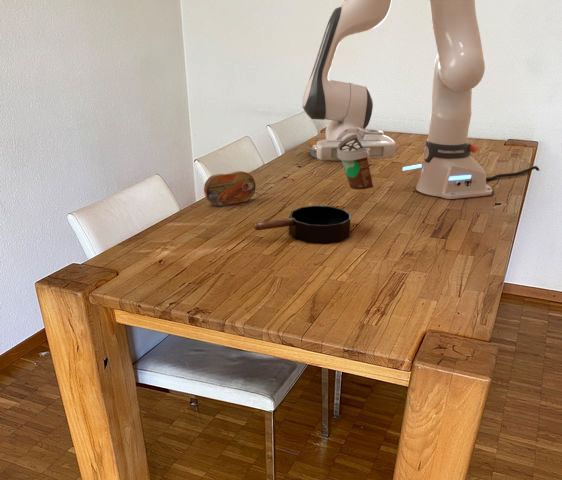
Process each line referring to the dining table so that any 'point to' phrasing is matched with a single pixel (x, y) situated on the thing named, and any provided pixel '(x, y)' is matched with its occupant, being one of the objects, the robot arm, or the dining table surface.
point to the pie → (314, 152)
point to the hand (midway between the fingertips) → (362, 156)
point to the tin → (229, 188)
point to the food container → (355, 163)
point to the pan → (314, 224)
